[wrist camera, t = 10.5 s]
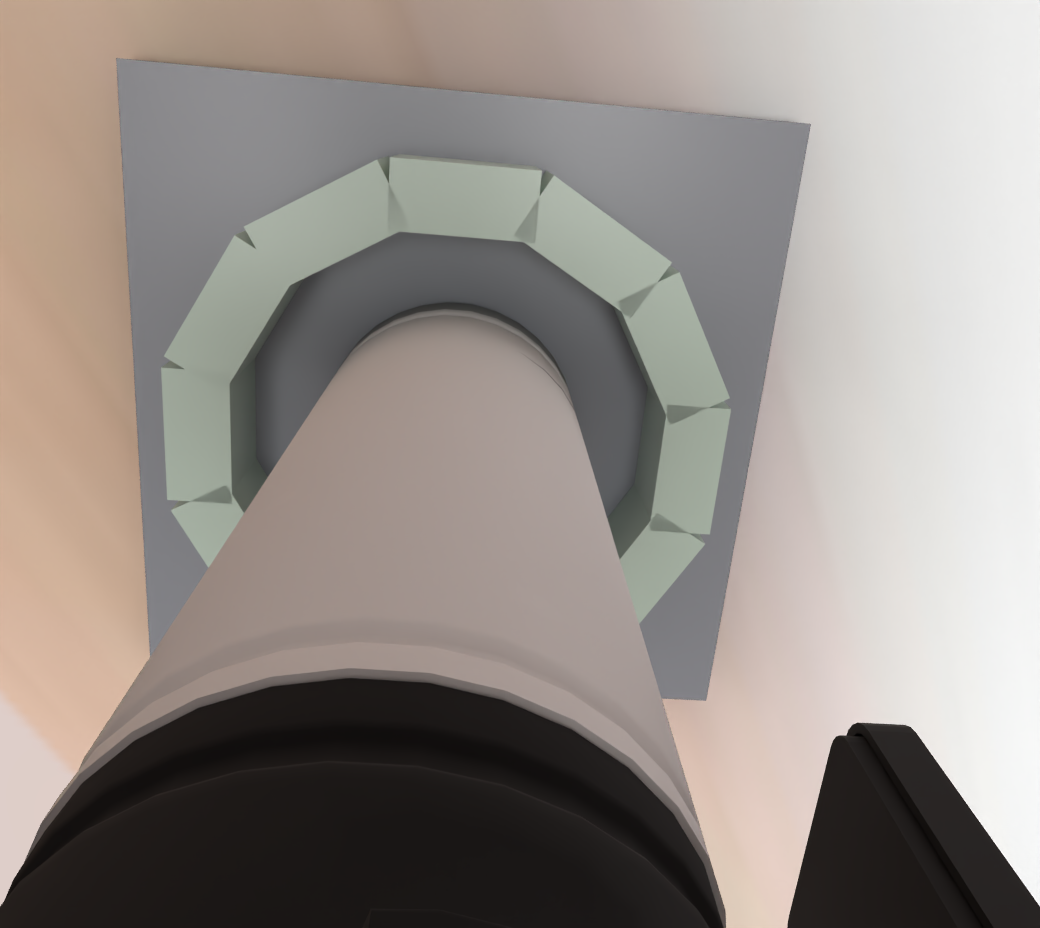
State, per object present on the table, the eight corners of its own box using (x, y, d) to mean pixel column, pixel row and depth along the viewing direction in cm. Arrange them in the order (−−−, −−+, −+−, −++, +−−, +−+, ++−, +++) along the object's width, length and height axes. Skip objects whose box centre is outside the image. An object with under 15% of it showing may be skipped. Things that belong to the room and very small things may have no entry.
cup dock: (132, 61, 22) (69, 48, 18) (797, 124, 23) (851, 123, 19) (162, 653, 27) (118, 725, 24) (698, 681, 28) (727, 754, 25)
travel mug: (616, 342, 23) (1149, 1225, 4) (519, 562, 25) (598, 1818, 6) (381, 248, 22) (-217, 864, 3) (299, 485, 24) (-363, 1693, 5)
